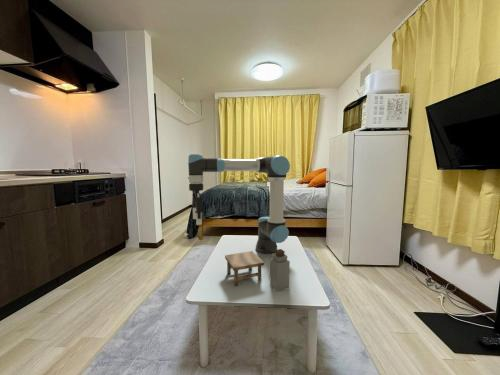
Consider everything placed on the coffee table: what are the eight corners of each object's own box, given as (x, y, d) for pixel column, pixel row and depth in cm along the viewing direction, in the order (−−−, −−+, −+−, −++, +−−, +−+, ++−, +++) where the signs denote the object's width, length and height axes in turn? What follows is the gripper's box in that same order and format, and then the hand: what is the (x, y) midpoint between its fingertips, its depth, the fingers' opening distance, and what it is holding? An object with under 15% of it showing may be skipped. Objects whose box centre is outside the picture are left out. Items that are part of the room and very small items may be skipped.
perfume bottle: (270, 284, 109) (270, 249, 107) (281, 281, 111) (282, 247, 110) (276, 291, 103) (277, 254, 101) (289, 288, 105) (289, 252, 103)
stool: (252, 267, 126) (252, 251, 125) (264, 281, 112) (264, 262, 111) (225, 272, 120) (224, 255, 120) (234, 287, 106) (233, 267, 105)
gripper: (186, 181, 129) (187, 217, 131) (191, 185, 106) (193, 228, 108) (199, 181, 132) (200, 216, 134) (207, 184, 109) (208, 226, 111)
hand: (197, 221), depth 121 cm, fingers open, 13 cm apart
